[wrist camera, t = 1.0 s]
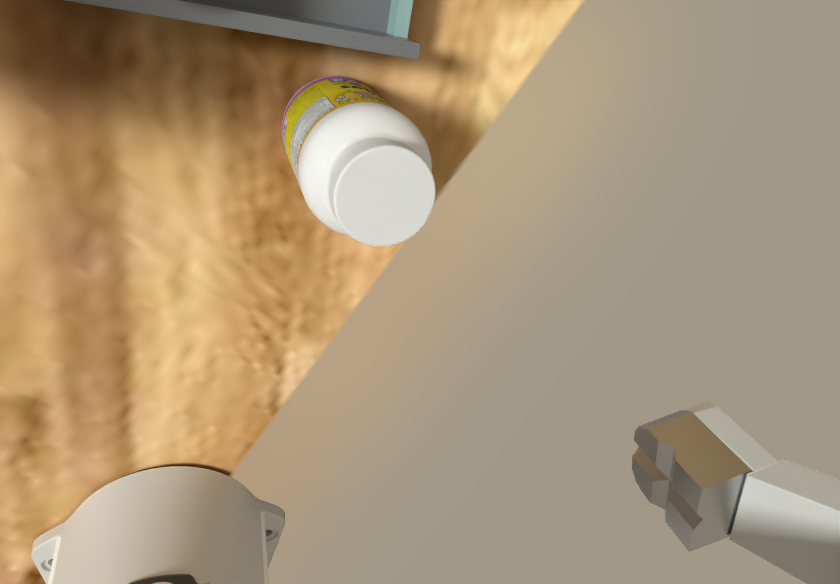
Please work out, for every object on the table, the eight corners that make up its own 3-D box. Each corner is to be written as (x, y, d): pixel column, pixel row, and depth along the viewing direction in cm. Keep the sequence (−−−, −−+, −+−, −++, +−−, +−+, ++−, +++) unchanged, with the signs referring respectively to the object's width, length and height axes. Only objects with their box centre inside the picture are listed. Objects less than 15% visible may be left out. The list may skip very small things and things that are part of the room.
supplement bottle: (406, 123, 37) (486, 188, 26) (340, 200, 38) (391, 292, 27) (326, 47, 33) (382, 88, 23) (256, 135, 34) (278, 212, 24)
